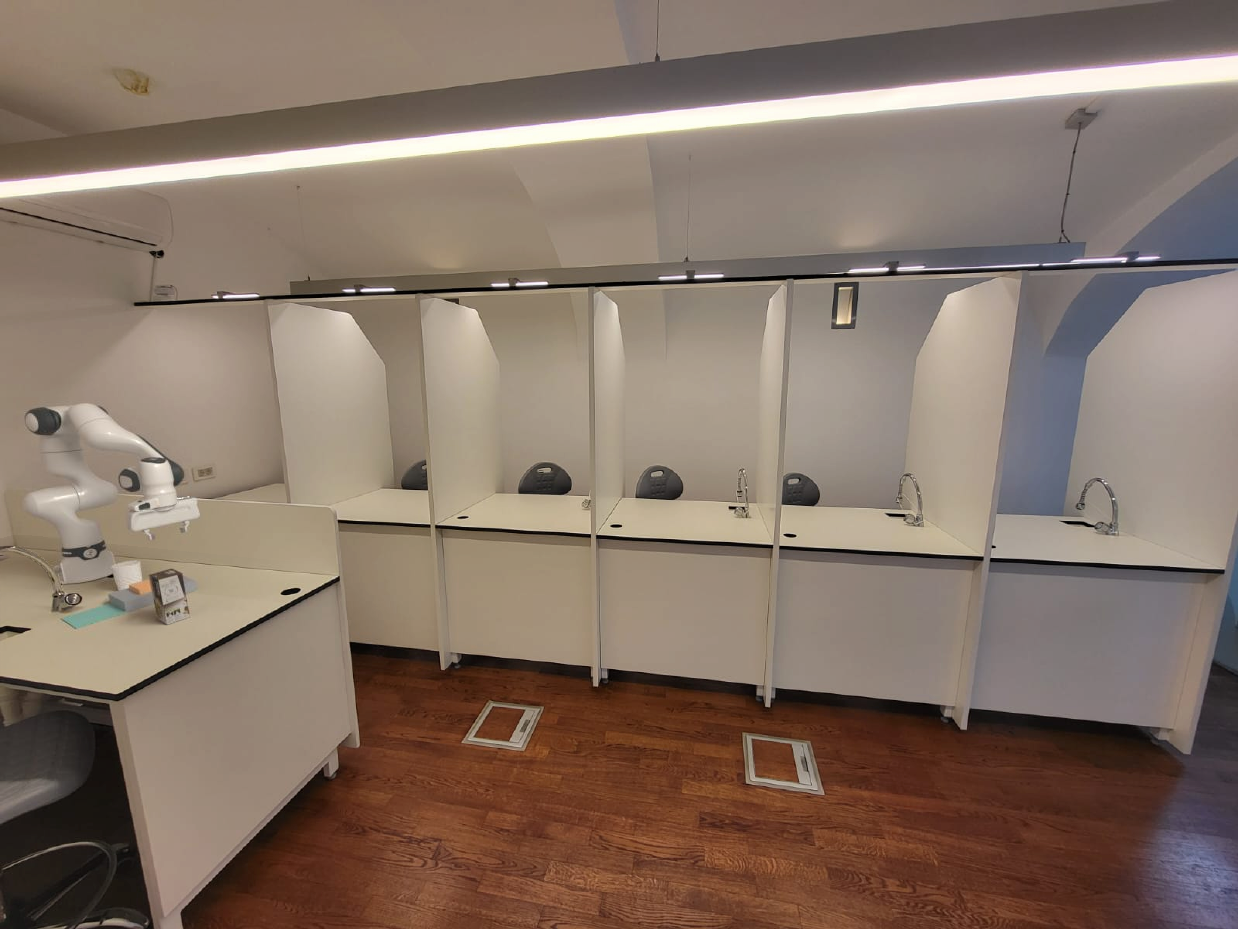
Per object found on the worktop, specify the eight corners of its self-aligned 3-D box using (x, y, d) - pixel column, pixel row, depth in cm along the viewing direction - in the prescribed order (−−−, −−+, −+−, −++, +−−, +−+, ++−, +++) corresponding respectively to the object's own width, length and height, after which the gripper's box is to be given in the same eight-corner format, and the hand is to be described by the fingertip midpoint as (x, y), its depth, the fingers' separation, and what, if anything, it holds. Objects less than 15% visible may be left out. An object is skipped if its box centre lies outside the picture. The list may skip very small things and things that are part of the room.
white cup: (114, 594, 179) (109, 569, 178) (118, 587, 185) (112, 563, 184) (143, 588, 184) (138, 564, 183) (146, 582, 190) (141, 558, 188)
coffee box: (191, 617, 162) (183, 573, 159) (166, 625, 157) (157, 580, 154) (180, 610, 167) (172, 567, 164) (156, 618, 161) (147, 574, 159)
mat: (61, 619, 161) (61, 618, 161) (110, 604, 172) (110, 603, 172) (76, 628, 155) (76, 627, 155) (126, 612, 165) (126, 611, 165)
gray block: (110, 604, 172) (108, 593, 171) (180, 583, 189) (178, 573, 189) (126, 612, 165) (124, 602, 165) (196, 590, 183) (195, 580, 182)
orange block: (129, 589, 174) (128, 584, 174) (151, 583, 180) (150, 578, 179) (140, 594, 170) (139, 589, 170) (161, 588, 175) (160, 583, 175)
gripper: (192, 493, 187) (198, 527, 190) (121, 506, 170) (128, 542, 172) (199, 495, 185) (205, 529, 187) (128, 508, 167) (136, 545, 169)
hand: (168, 535), depth 179 cm, fingers open, 8 cm apart
